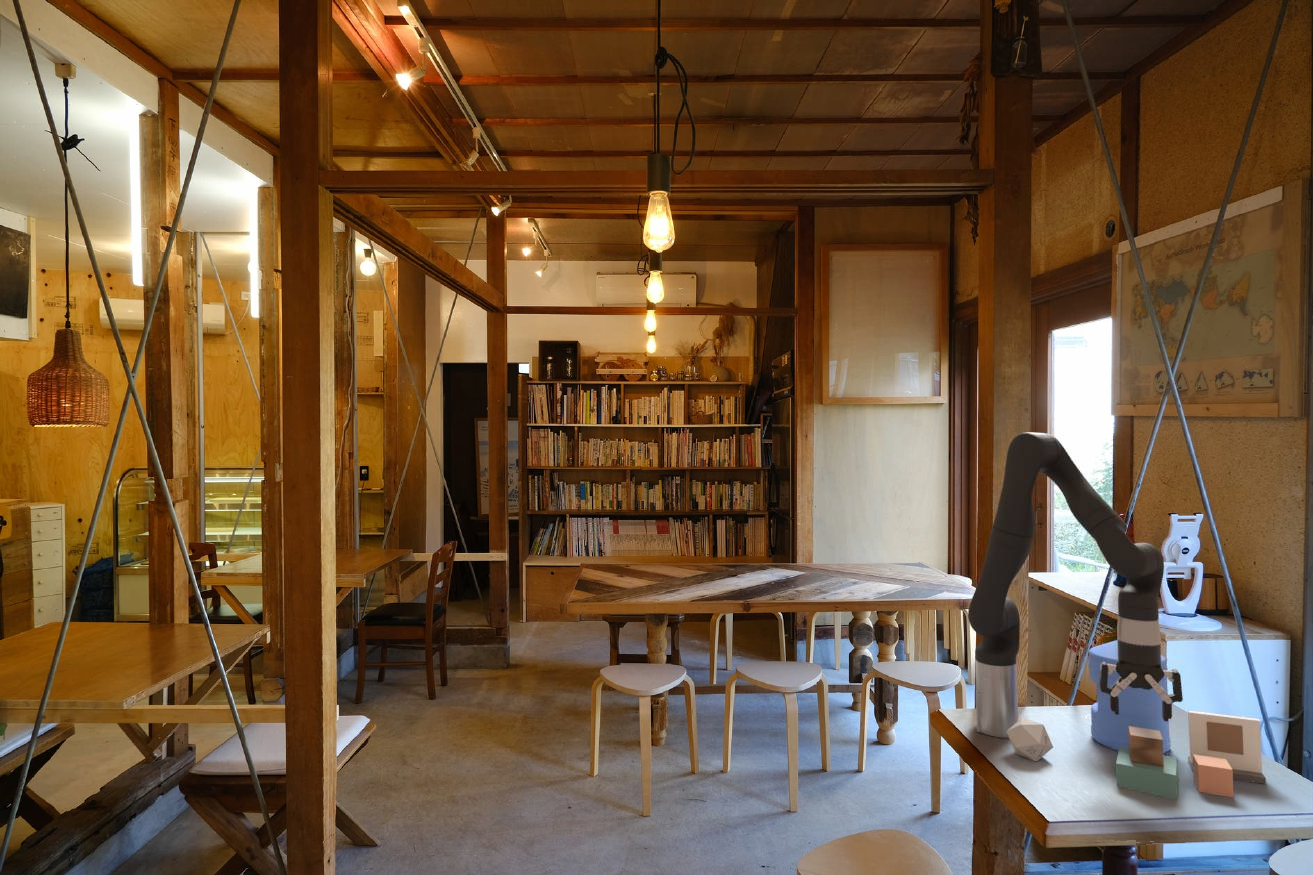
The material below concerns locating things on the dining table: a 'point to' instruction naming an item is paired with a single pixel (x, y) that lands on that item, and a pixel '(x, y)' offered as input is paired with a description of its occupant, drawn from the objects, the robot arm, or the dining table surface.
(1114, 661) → the water jug
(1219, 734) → the placard
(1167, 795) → the base block
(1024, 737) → the die
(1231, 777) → the terracotta block
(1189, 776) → the dining table surface
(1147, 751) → the walnut block
